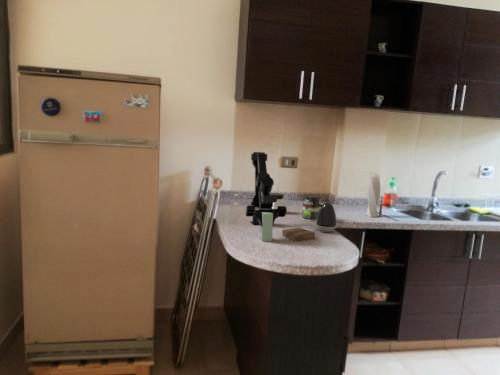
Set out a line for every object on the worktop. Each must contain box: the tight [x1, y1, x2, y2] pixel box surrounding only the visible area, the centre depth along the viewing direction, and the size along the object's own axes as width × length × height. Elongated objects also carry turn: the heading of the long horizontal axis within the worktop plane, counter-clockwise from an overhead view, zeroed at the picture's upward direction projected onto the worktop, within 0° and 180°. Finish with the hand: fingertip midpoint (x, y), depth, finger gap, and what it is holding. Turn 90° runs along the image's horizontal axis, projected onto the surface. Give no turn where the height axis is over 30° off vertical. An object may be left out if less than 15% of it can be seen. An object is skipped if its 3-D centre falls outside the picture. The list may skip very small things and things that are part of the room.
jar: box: [270, 192, 285, 209], centre depth 241 cm, size 9×8×12 cm
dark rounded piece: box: [315, 201, 337, 233], centre depth 198 cm, size 10×10×15 cm
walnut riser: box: [281, 227, 316, 242], centre depth 185 cm, size 11×11×4 cm
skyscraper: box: [365, 172, 383, 219], centre depth 242 cm, size 8×8×28 cm
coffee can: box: [301, 194, 322, 222], centre depth 226 cm, size 10×10×14 cm
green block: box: [260, 212, 274, 242], centre depth 177 cm, size 4×4×12 cm
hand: (267, 226), depth 176 cm, fingers closed on green block, 4 cm apart
